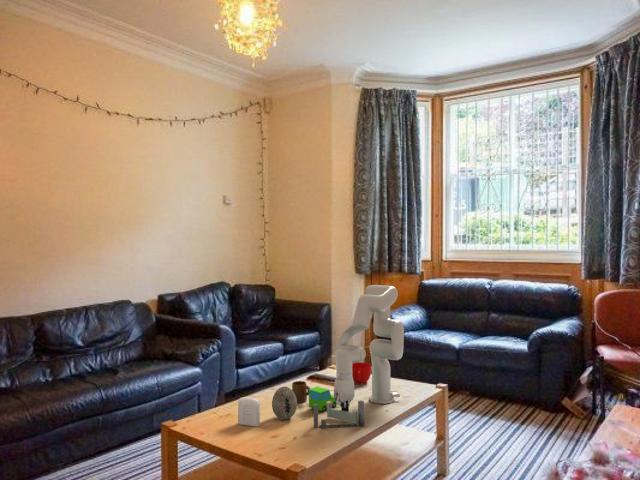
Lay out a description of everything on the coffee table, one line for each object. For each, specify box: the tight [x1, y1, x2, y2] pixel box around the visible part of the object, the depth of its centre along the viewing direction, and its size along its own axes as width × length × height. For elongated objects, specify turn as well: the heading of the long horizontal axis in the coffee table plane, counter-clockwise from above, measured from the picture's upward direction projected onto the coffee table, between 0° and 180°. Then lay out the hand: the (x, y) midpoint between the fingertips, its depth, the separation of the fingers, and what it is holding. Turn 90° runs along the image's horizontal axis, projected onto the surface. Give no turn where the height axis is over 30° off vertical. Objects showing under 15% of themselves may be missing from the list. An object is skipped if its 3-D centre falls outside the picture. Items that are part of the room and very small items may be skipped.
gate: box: [326, 401, 358, 424], centre depth 229 cm, size 16×2×7 cm, turn 56°
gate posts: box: [312, 400, 366, 430], centre depth 223 cm, size 23×4×11 cm, turn 91°
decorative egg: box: [271, 386, 298, 420], centre depth 234 cm, size 12×12×15 cm
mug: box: [291, 380, 311, 404], centre depth 257 cm, size 12×8×9 cm, turn 44°
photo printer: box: [237, 396, 261, 427], centre depth 227 cm, size 10×4×12 cm, turn 72°
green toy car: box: [308, 386, 338, 413], centre depth 248 cm, size 10×13×10 cm
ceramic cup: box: [352, 362, 372, 385], centre depth 288 cm, size 13×17×10 cm
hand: (345, 414), depth 231 cm, fingers closed
